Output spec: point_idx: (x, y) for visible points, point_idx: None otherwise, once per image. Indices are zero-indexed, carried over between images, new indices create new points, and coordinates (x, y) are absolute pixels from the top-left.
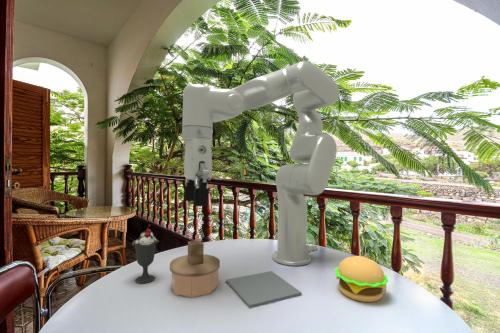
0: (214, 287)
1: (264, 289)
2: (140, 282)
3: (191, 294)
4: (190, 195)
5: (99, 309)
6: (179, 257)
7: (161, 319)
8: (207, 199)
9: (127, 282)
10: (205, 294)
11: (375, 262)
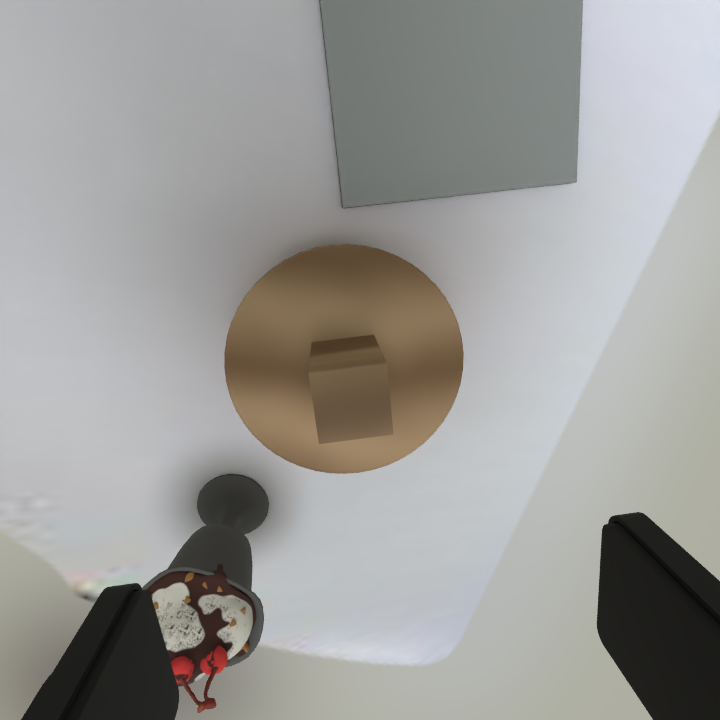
0: None
1: (493, 64)
2: (263, 518)
3: None
4: (140, 718)
5: (402, 591)
6: (257, 431)
7: (514, 448)
8: (686, 556)
9: None
10: None
11: None
